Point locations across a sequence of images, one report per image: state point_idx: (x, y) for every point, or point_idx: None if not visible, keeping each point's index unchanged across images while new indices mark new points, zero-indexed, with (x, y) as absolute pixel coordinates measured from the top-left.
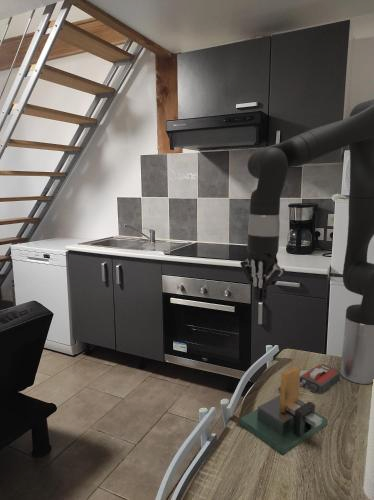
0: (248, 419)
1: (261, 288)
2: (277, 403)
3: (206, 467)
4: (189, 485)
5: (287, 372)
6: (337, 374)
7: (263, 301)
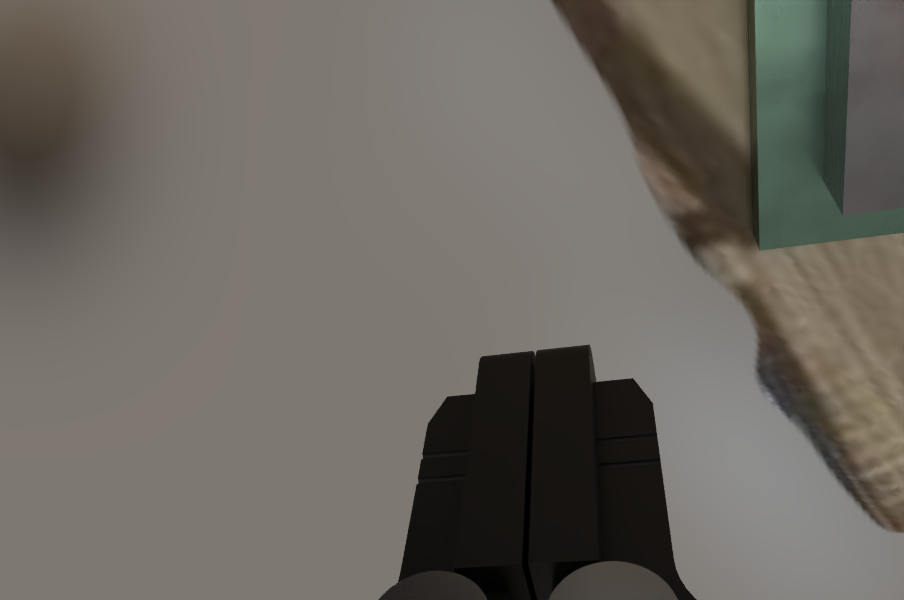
0: (794, 220)
1: None
2: (902, 91)
3: (863, 455)
4: (886, 521)
5: None
6: None
7: (592, 366)
